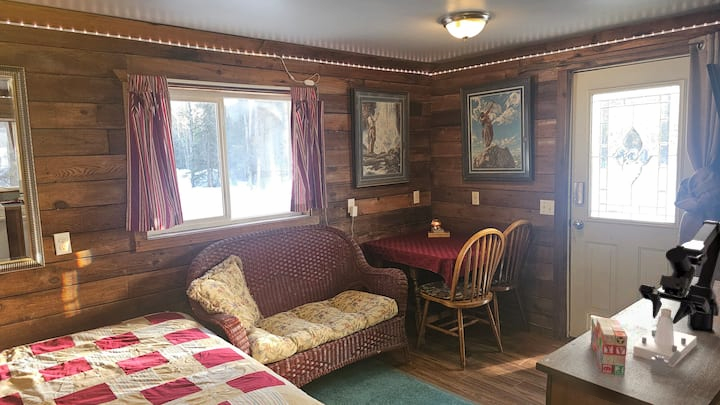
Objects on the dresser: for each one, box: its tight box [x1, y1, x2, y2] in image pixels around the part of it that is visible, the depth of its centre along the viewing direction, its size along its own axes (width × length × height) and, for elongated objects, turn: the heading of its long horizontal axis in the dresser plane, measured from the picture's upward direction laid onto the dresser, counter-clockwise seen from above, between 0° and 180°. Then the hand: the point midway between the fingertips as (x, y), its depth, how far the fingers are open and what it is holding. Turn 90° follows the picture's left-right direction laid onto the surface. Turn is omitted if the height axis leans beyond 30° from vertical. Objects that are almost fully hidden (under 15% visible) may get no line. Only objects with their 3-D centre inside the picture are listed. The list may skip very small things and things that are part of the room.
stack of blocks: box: [590, 316, 628, 376], centre depth 148 cm, size 21×6×12 cm, turn 162°
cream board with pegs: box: [632, 329, 697, 368], centre depth 153 cm, size 22×11×5 cm, turn 130°
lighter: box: [650, 350, 682, 378], centre depth 137 cm, size 7×2×8 cm, turn 53°
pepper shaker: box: [654, 308, 675, 346], centre depth 151 cm, size 5×5×11 cm
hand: (663, 320), depth 150 cm, fingers open, 5 cm apart
